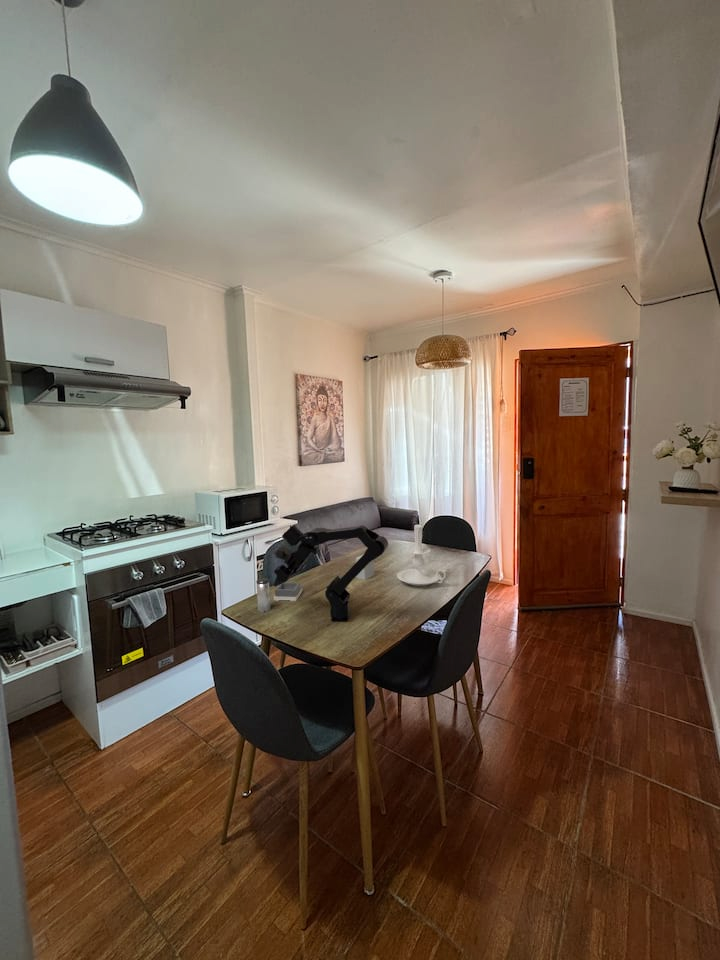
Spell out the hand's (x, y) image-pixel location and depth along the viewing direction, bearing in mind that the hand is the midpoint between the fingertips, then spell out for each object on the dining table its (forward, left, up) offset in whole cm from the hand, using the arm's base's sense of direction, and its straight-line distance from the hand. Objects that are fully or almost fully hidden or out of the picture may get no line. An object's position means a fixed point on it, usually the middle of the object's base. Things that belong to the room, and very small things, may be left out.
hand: (279, 581), depth 162 cm
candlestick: (-58, -34, -13) cm, 69 cm away
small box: (-30, -41, -13) cm, 52 cm away
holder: (+2, -16, -13) cm, 20 cm away
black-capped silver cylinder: (+8, -2, -13) cm, 15 cm away
